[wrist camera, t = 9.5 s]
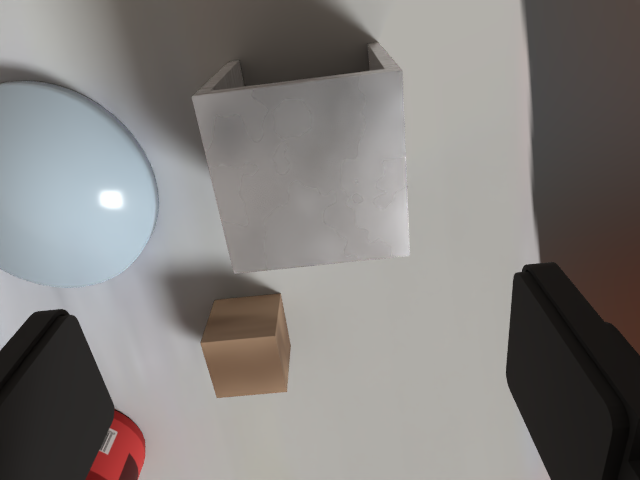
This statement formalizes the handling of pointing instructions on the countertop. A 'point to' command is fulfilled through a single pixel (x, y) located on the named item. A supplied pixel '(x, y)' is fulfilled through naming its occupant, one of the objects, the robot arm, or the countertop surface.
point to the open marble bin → (308, 165)
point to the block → (247, 346)
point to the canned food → (119, 452)
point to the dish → (69, 188)
